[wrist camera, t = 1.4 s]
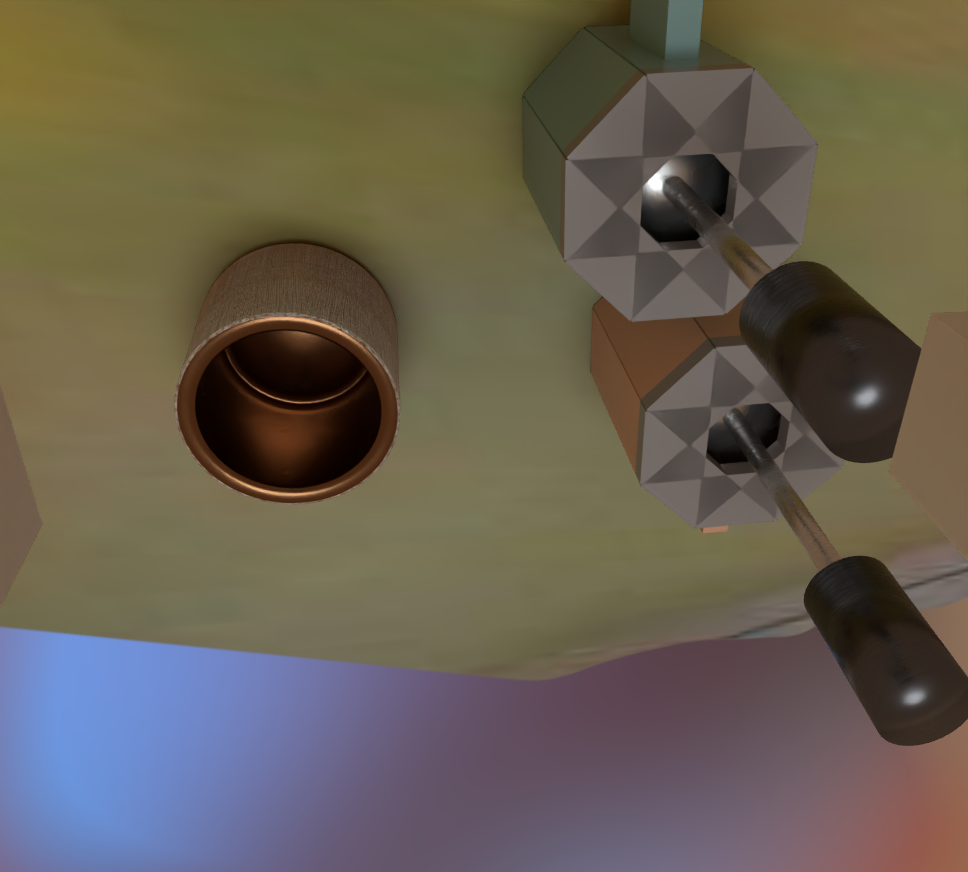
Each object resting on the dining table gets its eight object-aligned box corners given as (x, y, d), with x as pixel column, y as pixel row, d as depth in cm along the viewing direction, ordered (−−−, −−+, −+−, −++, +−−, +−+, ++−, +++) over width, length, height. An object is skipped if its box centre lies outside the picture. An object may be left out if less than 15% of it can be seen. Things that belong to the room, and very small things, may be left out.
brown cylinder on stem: (657, 346, 45) (830, 634, 28) (816, 334, 45) (1078, 608, 29) (647, 481, 49) (792, 801, 32) (792, 469, 50) (1008, 776, 33)
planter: (172, 263, 50) (134, 341, 41) (369, 218, 49) (370, 288, 41) (239, 430, 55) (218, 527, 47) (416, 390, 55) (424, 481, 47)
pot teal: (521, -25, 44) (567, 9, 34) (733, -35, 45) (841, -5, 35) (523, 234, 51) (563, 327, 41) (708, 221, 52) (791, 309, 41)
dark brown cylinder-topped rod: (582, 93, 38) (751, 274, 21) (770, 83, 39) (1076, 250, 22) (578, 275, 42) (716, 543, 26) (747, 263, 43) (989, 517, 26)
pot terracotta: (594, 257, 52) (649, 352, 42) (773, 244, 53) (870, 335, 43) (587, 447, 59) (634, 570, 49) (746, 434, 59) (824, 551, 49)
